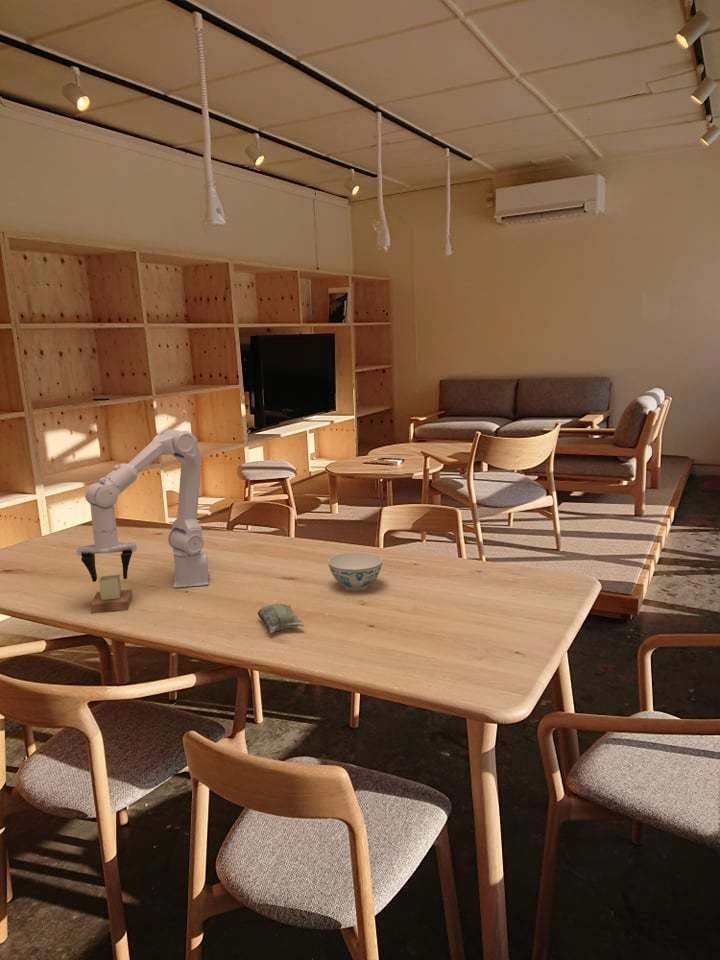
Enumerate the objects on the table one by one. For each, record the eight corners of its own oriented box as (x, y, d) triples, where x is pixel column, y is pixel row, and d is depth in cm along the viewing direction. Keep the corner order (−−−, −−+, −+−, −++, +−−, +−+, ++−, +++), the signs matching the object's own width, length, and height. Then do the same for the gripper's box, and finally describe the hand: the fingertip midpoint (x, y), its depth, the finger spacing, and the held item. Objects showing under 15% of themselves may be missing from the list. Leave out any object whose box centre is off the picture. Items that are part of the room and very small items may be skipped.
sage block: (121, 592, 186) (119, 574, 186) (119, 598, 182) (117, 579, 181) (103, 594, 185) (101, 576, 185) (101, 600, 181) (99, 581, 180)
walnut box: (132, 599, 189) (131, 589, 189) (128, 612, 181) (127, 601, 180) (98, 602, 188) (97, 592, 187) (91, 615, 179) (90, 604, 179)
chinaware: (320, 583, 197) (319, 557, 195) (367, 574, 203) (366, 548, 202) (343, 600, 184) (342, 572, 182) (393, 590, 190) (392, 563, 189)
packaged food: (291, 614, 175) (289, 596, 174) (304, 633, 165) (303, 613, 164) (257, 621, 172) (255, 602, 171) (268, 640, 162) (267, 620, 161)
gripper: (71, 535, 175) (77, 587, 178) (132, 531, 177) (137, 581, 180) (77, 528, 182) (83, 577, 185) (135, 524, 184) (140, 572, 187)
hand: (110, 579), depth 183 cm, fingers open, 7 cm apart
